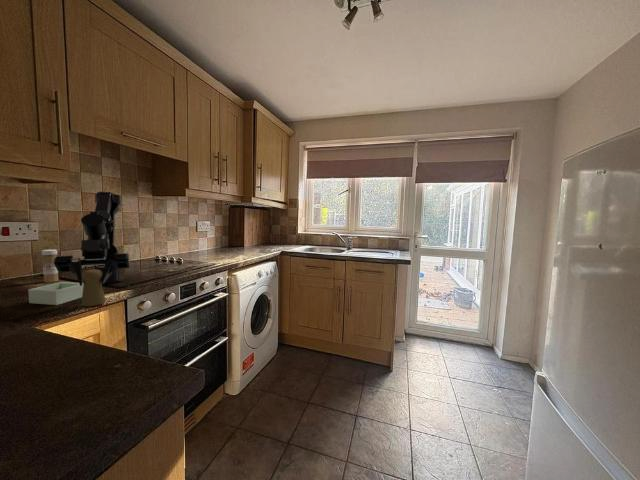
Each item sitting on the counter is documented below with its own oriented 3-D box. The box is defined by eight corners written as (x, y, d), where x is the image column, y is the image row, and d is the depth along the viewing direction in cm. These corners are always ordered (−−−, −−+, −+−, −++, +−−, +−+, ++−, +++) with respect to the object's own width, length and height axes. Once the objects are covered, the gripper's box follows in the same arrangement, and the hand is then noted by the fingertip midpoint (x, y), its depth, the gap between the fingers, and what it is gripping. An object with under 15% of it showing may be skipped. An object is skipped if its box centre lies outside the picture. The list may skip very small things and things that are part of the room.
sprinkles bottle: (43, 283, 108) (41, 250, 107) (44, 281, 112) (42, 249, 111) (58, 281, 112) (56, 250, 110) (59, 279, 115) (57, 248, 114)
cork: (91, 307, 82) (89, 272, 81) (76, 305, 83) (73, 270, 82) (110, 301, 88) (108, 268, 87) (95, 299, 89) (94, 267, 88)
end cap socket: (62, 294, 96) (61, 281, 95) (87, 295, 94) (86, 283, 94) (29, 303, 86) (28, 289, 85) (56, 304, 85) (55, 291, 84)
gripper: (53, 230, 82) (42, 272, 73) (127, 230, 91) (125, 267, 83) (63, 251, 89) (54, 292, 81) (130, 249, 99) (128, 285, 91)
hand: (91, 284), depth 84 cm, fingers closed on cork, 5 cm apart
